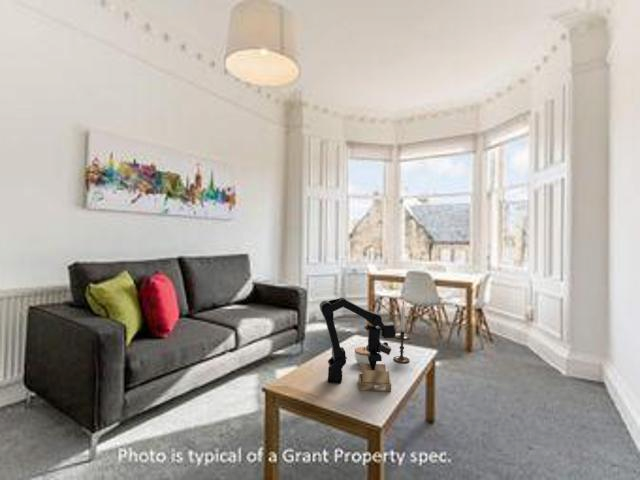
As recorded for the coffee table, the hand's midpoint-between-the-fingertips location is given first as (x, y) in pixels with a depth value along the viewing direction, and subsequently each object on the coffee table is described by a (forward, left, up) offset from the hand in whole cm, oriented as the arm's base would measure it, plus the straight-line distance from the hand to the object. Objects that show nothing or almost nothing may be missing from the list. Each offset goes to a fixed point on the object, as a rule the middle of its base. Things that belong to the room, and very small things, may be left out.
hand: (373, 370), depth 173 cm
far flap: (0, +1, +1) cm, 1 cm away
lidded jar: (-3, +21, -5) cm, 22 cm away
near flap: (0, -12, +2) cm, 12 cm away
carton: (0, -7, -5) cm, 8 cm away
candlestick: (+19, +29, -5) cm, 35 cm away
